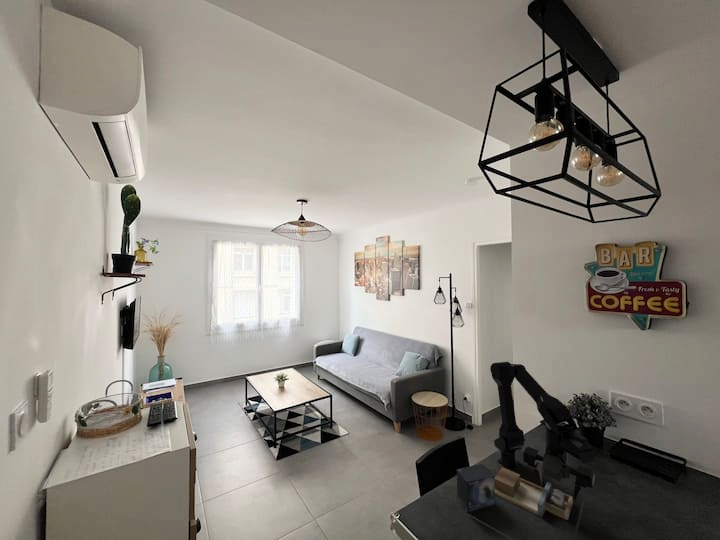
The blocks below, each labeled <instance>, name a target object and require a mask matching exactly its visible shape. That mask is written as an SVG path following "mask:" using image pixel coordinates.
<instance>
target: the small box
mask: <svg viewBox="0 0 720 540" xmlns="http://www.w3.org/2000/svg"><path fill="white" fill-rule="evenodd" d="M495 477H496V475H495V474H493V472H492V471H491V470H489V468H488V467H487V466H485V464H483V463H480V464H475V465H469V466H465V467H462V468H461V467H460V468H457V469H456V499H457V501H458V502H459V503H460V504H461V506H462V507H463V509H465V511H466V514H469V513H470V512H475V511H477V510H478V511H479V510H482V509H486V508H489V507H492V506H495V505H496V500H495V498H496V495H495Z"/></svg>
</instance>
